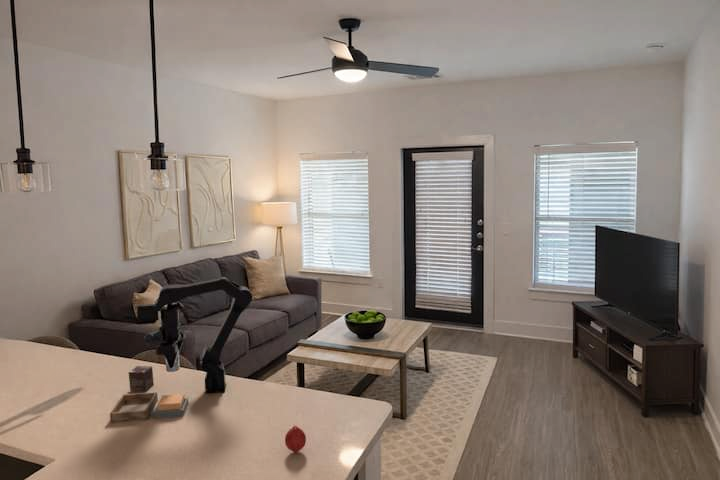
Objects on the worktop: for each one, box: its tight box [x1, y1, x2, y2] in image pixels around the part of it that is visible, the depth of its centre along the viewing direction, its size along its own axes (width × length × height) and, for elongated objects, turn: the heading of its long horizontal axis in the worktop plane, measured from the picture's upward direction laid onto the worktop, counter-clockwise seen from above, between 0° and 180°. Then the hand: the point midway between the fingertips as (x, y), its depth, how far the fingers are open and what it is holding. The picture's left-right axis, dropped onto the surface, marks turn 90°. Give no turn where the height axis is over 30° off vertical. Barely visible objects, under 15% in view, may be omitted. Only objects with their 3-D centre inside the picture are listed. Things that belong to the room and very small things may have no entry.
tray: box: [109, 391, 158, 423], centre depth 168 cm, size 11×14×3 cm
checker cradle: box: [153, 397, 189, 419], centre depth 168 cm, size 9×9×2 cm
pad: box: [157, 393, 186, 411], centre depth 168 cm, size 7×7×2 cm
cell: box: [164, 350, 181, 373], centre depth 178 cm, size 4×4×8 cm
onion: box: [284, 425, 307, 454], centre depth 142 cm, size 6×6×8 cm
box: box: [128, 365, 154, 393], centre depth 186 cm, size 6×6×7 cm
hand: (172, 365), depth 178 cm, fingers closed on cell, 4 cm apart
